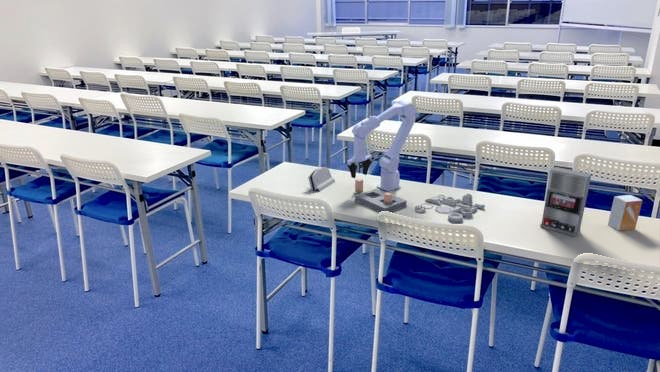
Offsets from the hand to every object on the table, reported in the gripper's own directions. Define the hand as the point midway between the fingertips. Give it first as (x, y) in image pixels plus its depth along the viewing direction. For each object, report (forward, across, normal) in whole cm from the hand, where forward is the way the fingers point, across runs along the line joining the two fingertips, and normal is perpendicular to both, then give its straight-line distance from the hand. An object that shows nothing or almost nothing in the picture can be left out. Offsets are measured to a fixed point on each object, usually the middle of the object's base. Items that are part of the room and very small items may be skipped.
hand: (359, 176), depth 230 cm
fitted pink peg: (+8, +2, +22) cm, 24 cm away
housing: (+8, +2, +17) cm, 19 cm away
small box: (+8, -57, +99) cm, 115 cm away
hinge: (+9, +9, -19) cm, 23 cm away
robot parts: (+9, -17, +41) cm, 45 cm away
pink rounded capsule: (+8, 0, 0) cm, 8 cm away
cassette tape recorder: (+8, -35, +84) cm, 91 cm away
